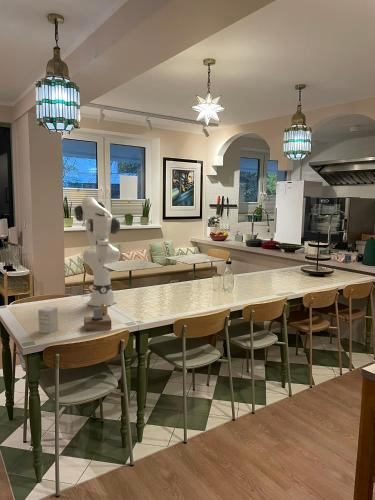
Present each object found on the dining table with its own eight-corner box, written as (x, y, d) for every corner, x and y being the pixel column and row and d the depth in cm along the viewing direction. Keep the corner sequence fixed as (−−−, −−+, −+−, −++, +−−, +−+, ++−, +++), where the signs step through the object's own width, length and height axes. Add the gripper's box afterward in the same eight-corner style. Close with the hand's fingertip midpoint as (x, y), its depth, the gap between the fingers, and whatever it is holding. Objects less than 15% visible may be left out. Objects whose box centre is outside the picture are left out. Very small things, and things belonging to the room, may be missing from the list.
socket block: (84, 325, 217) (83, 317, 216) (108, 323, 222) (108, 315, 221) (85, 331, 208) (85, 322, 207) (111, 328, 213) (111, 320, 212)
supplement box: (47, 327, 212) (46, 306, 211) (58, 329, 210) (58, 307, 208) (38, 332, 205) (37, 309, 204) (50, 333, 203) (49, 311, 201)
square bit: (93, 324, 216) (93, 307, 215) (100, 324, 217) (100, 307, 216) (94, 327, 212) (94, 309, 211) (101, 326, 214) (101, 309, 212)
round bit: (100, 320, 227) (100, 304, 226) (107, 319, 228) (106, 303, 227) (101, 322, 223) (100, 305, 222) (108, 321, 225) (107, 305, 223)
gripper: (93, 238, 229) (93, 261, 231) (97, 242, 210) (98, 267, 212) (104, 238, 232) (104, 261, 233) (109, 242, 213) (109, 266, 214)
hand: (101, 264), depth 223 cm, fingers open, 8 cm apart
